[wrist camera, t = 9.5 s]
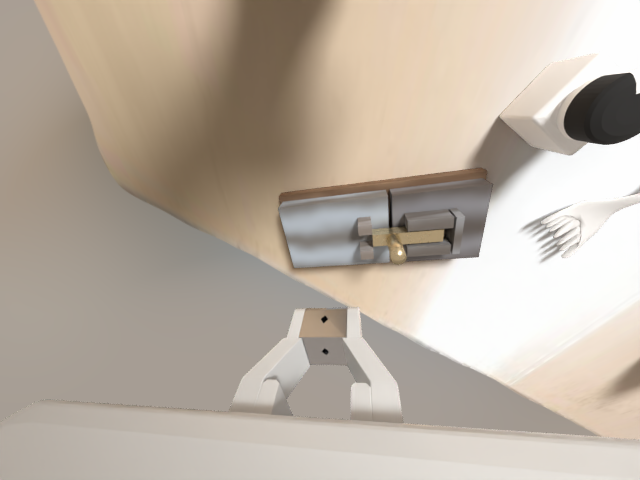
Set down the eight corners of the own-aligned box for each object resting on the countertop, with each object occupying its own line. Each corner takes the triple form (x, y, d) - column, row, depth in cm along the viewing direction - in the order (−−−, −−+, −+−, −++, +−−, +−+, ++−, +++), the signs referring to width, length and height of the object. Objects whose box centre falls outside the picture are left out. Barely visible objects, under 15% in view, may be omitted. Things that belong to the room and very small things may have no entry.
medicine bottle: (531, 147, 33) (611, 166, 23) (497, 116, 32) (565, 122, 21) (586, 98, 30) (710, 94, 19) (550, 61, 28) (662, 36, 18)
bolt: (371, 229, 36) (375, 253, 30) (439, 223, 35) (457, 247, 29) (372, 240, 37) (375, 265, 31) (438, 234, 36) (455, 261, 30)
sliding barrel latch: (281, 192, 41) (267, 210, 34) (480, 167, 35) (511, 182, 28) (298, 257, 48) (288, 282, 41) (467, 245, 42) (490, 273, 35)
